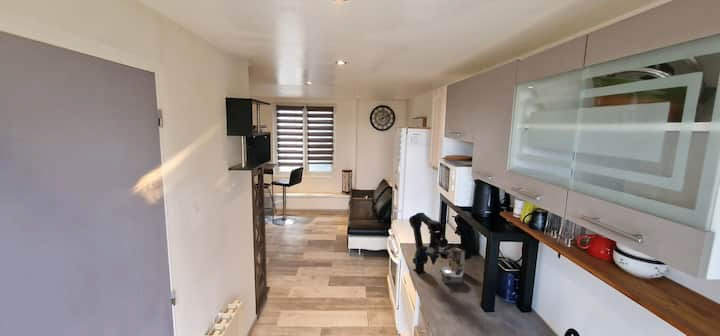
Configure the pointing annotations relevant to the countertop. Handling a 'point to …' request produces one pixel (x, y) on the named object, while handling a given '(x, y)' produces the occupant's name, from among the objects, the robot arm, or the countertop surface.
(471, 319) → the countertop surface
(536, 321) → the countertop surface
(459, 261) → the coffee box
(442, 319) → the countertop surface
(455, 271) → the cooker lid
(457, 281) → the cooker pot
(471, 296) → the countertop surface
